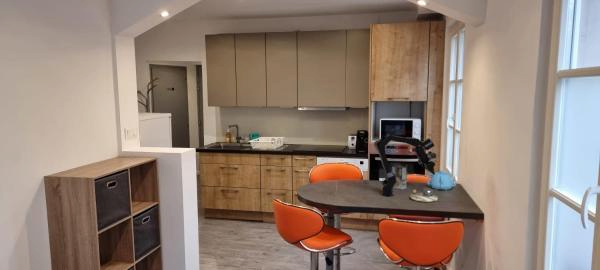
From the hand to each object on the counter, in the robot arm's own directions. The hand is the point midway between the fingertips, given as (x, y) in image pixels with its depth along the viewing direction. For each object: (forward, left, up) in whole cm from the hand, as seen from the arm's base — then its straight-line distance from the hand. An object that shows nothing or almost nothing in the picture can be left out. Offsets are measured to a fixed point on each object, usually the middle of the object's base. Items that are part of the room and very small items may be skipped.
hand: (431, 172), depth 278 cm
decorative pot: (+20, +6, -15) cm, 26 cm away
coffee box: (-3, +26, -15) cm, 30 cm away
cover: (-11, -5, -13) cm, 18 cm away
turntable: (-15, -5, -15) cm, 22 cm away
